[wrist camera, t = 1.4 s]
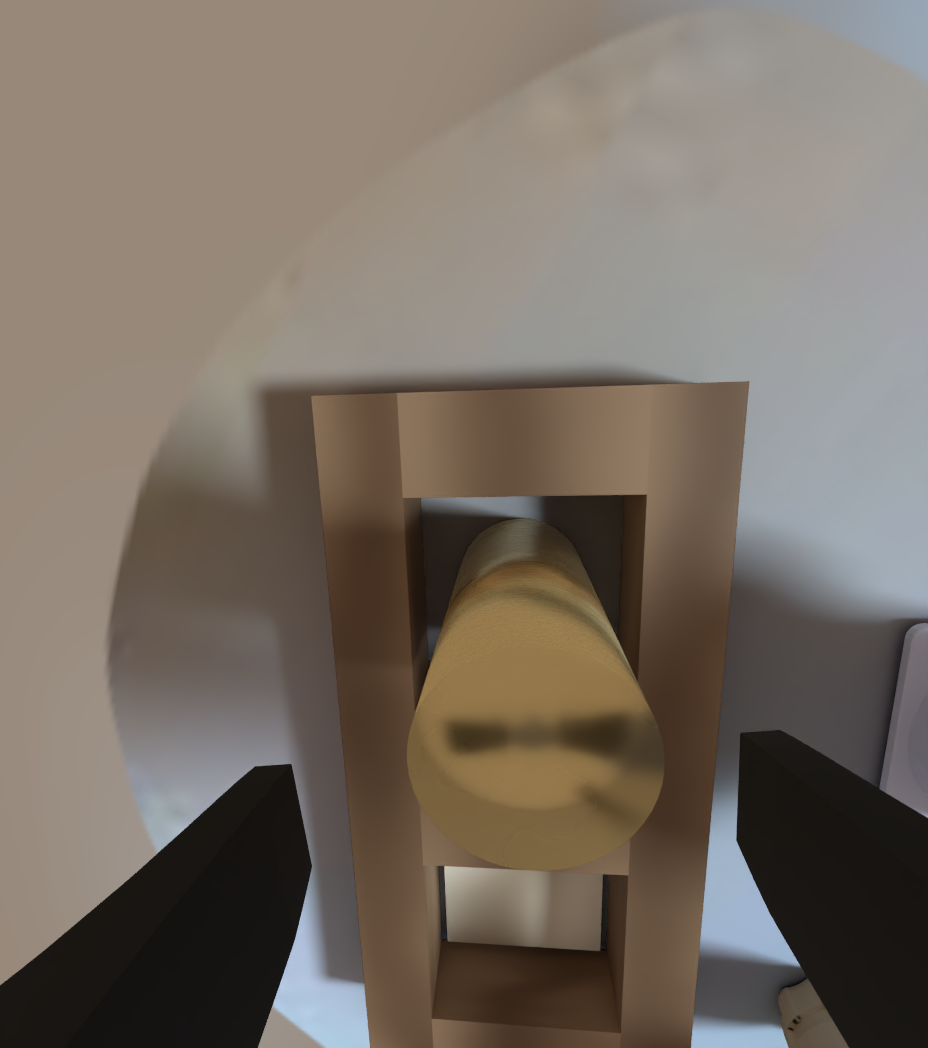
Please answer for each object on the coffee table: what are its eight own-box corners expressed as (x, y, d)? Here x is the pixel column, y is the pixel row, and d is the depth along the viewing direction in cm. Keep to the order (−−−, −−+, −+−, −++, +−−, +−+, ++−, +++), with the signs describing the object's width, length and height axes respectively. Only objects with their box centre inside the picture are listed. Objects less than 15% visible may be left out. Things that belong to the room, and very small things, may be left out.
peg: (584, 517, 18) (672, 647, 8) (581, 635, 19) (657, 877, 9) (458, 519, 18) (399, 645, 9) (461, 634, 19) (413, 864, 10)
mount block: (707, 386, 17) (749, 381, 14) (662, 1009, 22) (686, 1099, 19) (343, 397, 18) (311, 395, 15) (389, 989, 23) (372, 1072, 20)
